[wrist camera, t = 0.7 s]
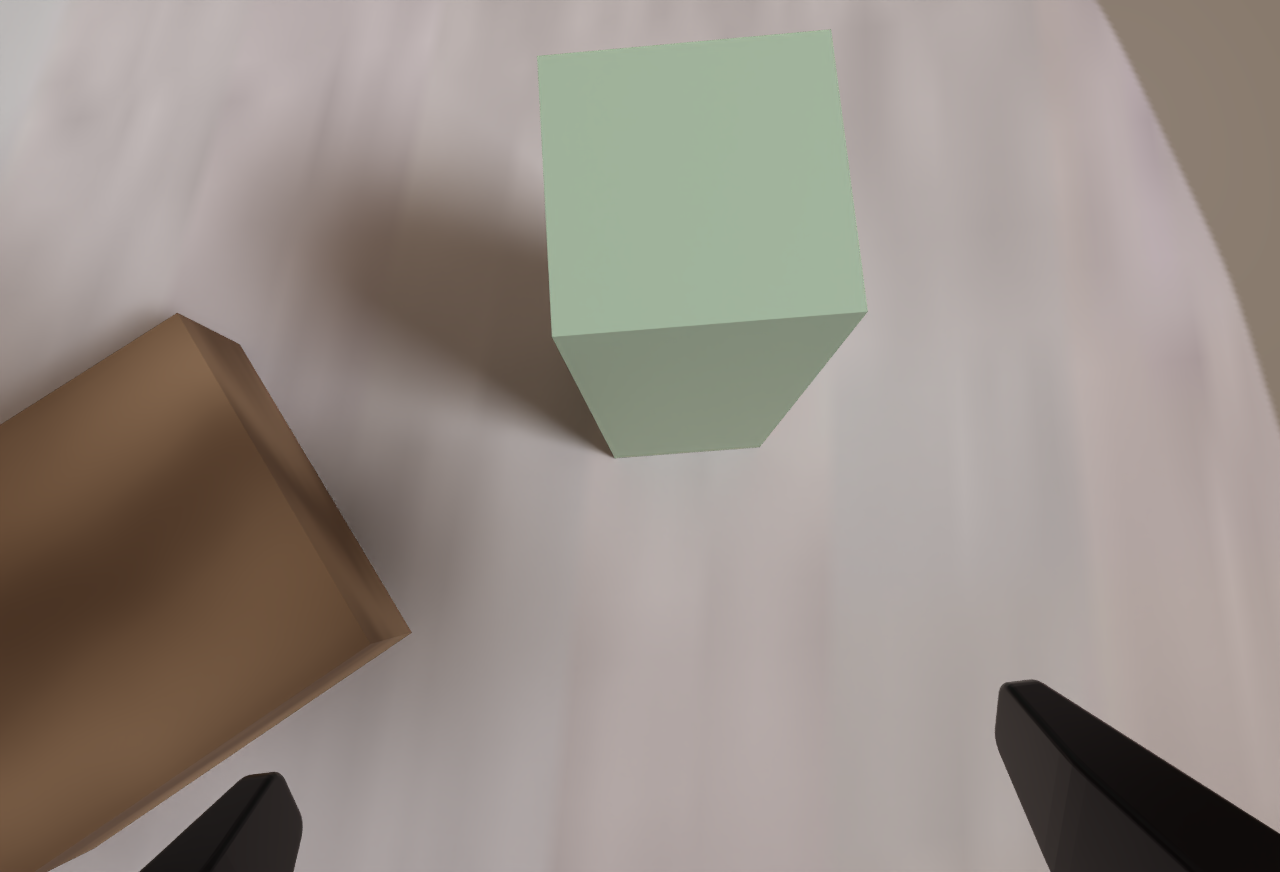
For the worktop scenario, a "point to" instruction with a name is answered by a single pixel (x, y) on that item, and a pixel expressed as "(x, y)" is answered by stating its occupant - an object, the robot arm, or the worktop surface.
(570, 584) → the worktop surface
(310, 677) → the walnut riser
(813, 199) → the green block
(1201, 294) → the worktop surface
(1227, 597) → the worktop surface
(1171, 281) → the worktop surface
